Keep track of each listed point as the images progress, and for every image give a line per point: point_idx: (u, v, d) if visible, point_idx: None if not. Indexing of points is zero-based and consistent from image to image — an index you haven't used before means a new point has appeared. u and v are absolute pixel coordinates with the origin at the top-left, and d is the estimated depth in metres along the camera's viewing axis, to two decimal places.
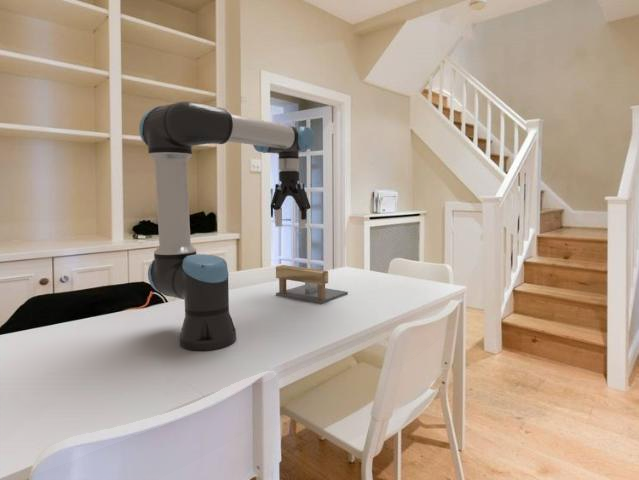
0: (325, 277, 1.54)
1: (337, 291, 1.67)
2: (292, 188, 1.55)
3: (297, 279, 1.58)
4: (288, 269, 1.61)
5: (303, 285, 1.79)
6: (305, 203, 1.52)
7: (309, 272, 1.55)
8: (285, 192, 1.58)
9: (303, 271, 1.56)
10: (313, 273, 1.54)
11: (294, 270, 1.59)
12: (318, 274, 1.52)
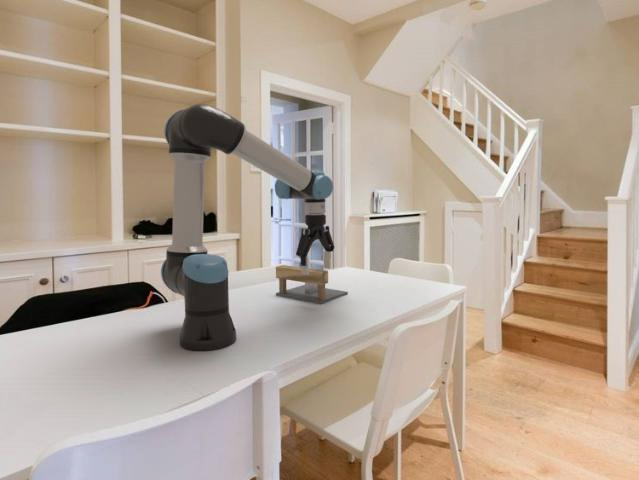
0: (325, 277, 1.54)
1: (337, 291, 1.67)
2: None
3: (297, 279, 1.58)
4: (288, 269, 1.61)
5: (303, 285, 1.79)
6: (298, 249, 1.48)
7: (309, 272, 1.55)
8: None
9: None
10: (313, 273, 1.54)
11: (294, 270, 1.59)
12: (318, 274, 1.52)
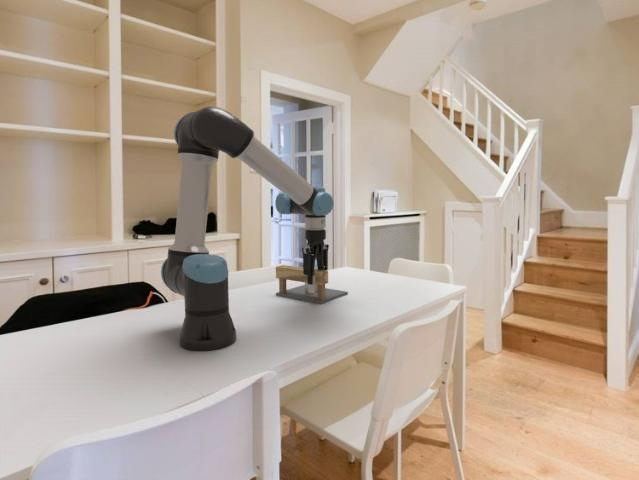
0: (325, 277, 1.54)
1: (337, 291, 1.67)
2: None
3: (297, 279, 1.58)
4: (288, 269, 1.61)
5: (303, 285, 1.79)
6: (304, 269, 1.51)
7: None
8: None
9: None
10: None
11: (294, 270, 1.59)
12: (318, 274, 1.52)
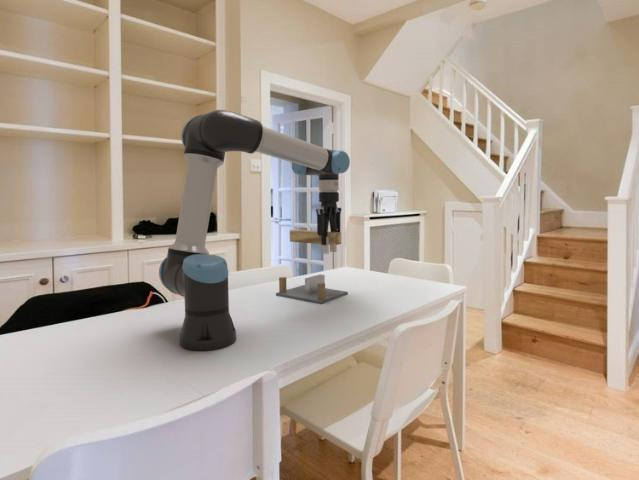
0: (338, 238, 1.59)
1: (337, 291, 1.67)
2: None
3: (311, 241, 1.64)
4: (302, 232, 1.66)
5: (303, 285, 1.79)
6: (318, 230, 1.56)
7: None
8: None
9: None
10: (327, 234, 1.59)
11: (308, 232, 1.64)
12: (331, 235, 1.58)
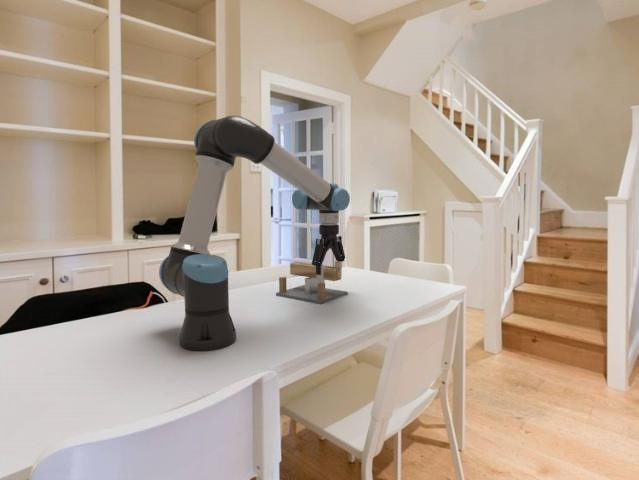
0: (338, 274, 1.61)
1: (337, 291, 1.67)
2: None
3: (311, 275, 1.65)
4: (302, 266, 1.67)
5: (303, 285, 1.79)
6: (313, 259, 1.55)
7: (323, 269, 1.61)
8: None
9: None
10: (327, 270, 1.60)
11: (308, 267, 1.66)
12: (331, 271, 1.59)
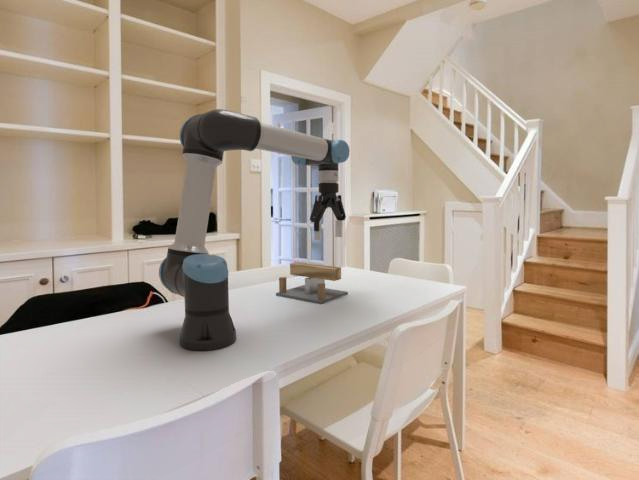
0: (338, 273, 1.61)
1: (337, 291, 1.67)
2: None
3: (311, 275, 1.65)
4: (302, 266, 1.67)
5: (303, 285, 1.79)
6: (311, 215, 1.53)
7: (323, 269, 1.61)
8: None
9: (317, 268, 1.63)
10: (327, 269, 1.60)
11: (308, 267, 1.66)
12: (331, 271, 1.59)
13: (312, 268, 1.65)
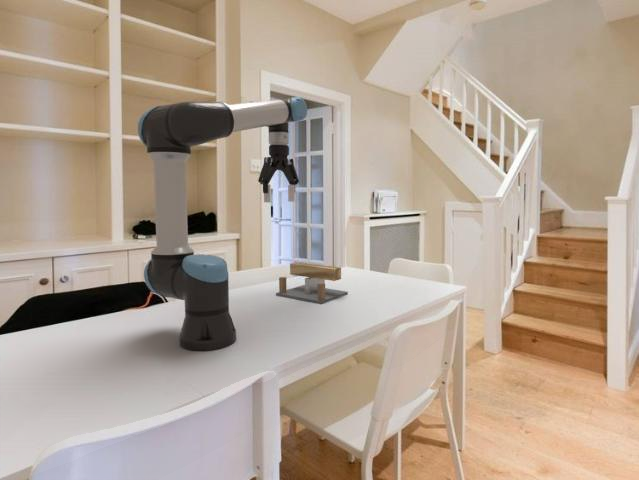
0: (338, 273, 1.61)
1: (337, 291, 1.67)
2: None
3: (311, 275, 1.65)
4: (302, 266, 1.67)
5: (303, 285, 1.79)
6: (260, 176, 1.52)
7: (323, 269, 1.61)
8: None
9: (317, 268, 1.63)
10: (327, 269, 1.60)
11: (308, 267, 1.66)
12: (331, 271, 1.59)
13: (312, 268, 1.65)
